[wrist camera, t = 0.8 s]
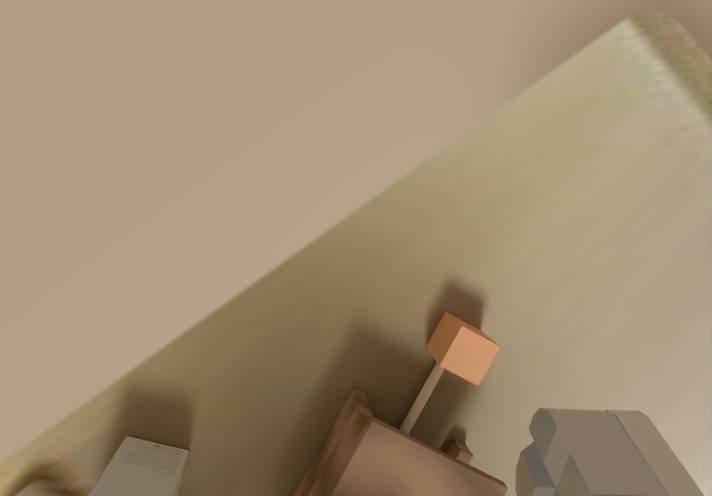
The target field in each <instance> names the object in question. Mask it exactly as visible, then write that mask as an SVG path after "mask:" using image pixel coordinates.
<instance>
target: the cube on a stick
mask: <svg viewBox="0 0 712 496" xmlns="http://www.w3.org/2000/svg"><path fill="white" fill-rule="evenodd" d="M426 349H427V350H428V351H429V353H430V354H431V355H432V357H433V358H434V359H435V361H436V362H437V363H436V365H435V366H434V368H433V370H432V372H431V373H430V375H429V377H428V379H427V381H426V382H425V384H424V386H423V388H422V390H421V391H420V393H419V395H418V397H417V398H416V400H415V402H414V404H413V406H412V407H411V409H410V411H409V413H408V415H407V416H406V418H405V420H404V422H403V423H402V425H401V427H400V429H399V430H400V431H402V432H404V433H406V434H409V433H410V431H411V429H412V427H413V425H414V424H415V422H416V420H417V418H418V416H419V415H420V413H421V411H422V409H423V408H424V406H425V404H426V402H427V400H428V399H429V397H430V395H431V393H432V392H433V390H434V388H435V386H436V384H437V383H438V381H439V379H440V377H441V376H442V374H443V372H444V370H445V369H447V370H448V371H450V372H452V373H454V374H456V375H458V376H460V377H462V378H464V379H466V380H468V381H470V382H471V383H473V384H475V385H477V386H479V384H480V382H481V381H482V379H483V377H484V375H485V374H486V372H487V370H488V368H489V366H490V365H491V363H492V361H493V359H494V358H495V356H496V354H497V352H498V351H499V349H500V346H499V345H498V344H497V343H496V342H494V341H493V340H492V339H491V338H490V337H488V336H487V335H486V334H485V333H483V332H482V331H481V330H479V329H477V328H476V327H474V326H472V325H470V324H468V323H466V322H464V321H463V320H461V319H459V318H457V317H455V316H453V315H451V314H449V313H448V312H445V313H444V315H443V317H442V319H441V321H440V322H439V324H438V326H437V328H436V330H435V331H434V333H433V335H432V337H431V338H430V340H429V342H428V344H427V346H426Z"/></svg>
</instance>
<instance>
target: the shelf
mask: <svg viewBox="0 0 712 496" xmlns="http://www.w3.org/2000/svg"><path fill="white" fill-rule="evenodd" d="M472 457H473V455H472V454H471V452H470V450H469V449H468V447H467V446H466V444H465V443H463V442H461V441H459V440H457V439H455V438H453V440H452V442H451V444H450V445H449V447H448V449H447V451H446V453H444V452H442V451H440V450H438V449H436V448H434V447H432V446H430V445H428V444H426V443H424V442H422V441H420V440H418V439H416V438H414V437H412V436H410V435H408V434H406V433H404V432H402V431H400V430H398V429H396V428H394V427H392V426H390V425H388V424H386V423H384V422H382V421H380V420H378V419H376V418H374V417H373V415H372V412H371V409H370V406H369V403H368V399H367V396H366V393H364V392H362V391H360V390H358V389H356V388H354V387H353V389H352V391H351V393H350V395H349V397H348V398H347V400H346V402H345V404H344V406H343V407H342V409H341V411H340V413H339V415H338V416H337V418H336V420H335V422H334V424H333V425H332V427H331V429H330V431H329V433H328V434H327V436H326V438H325V440H324V442H323V444H322V445H321V447H320V449H319V451H318V453H317V454H316V456H315V458H314V460H313V462H312V463H311V465H310V467H309V469H308V471H307V472H306V474H305V476H304V478H303V480H302V481H301V483H300V485H299V487H298V489H297V490H296V492H295V494H294V496H504V495H505V493H506V491H507V489H508V488H507V486H506V485H505V484H504V482H502V481H500V480H498V479H496V478H494V477H492V476H490V475H488V474H486V473H484V472H482V471H480V470H478V469H476V468H474V467H472V466H470V465H468V464H469V462H470V460H471V458H472Z"/></svg>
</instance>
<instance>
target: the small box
mask: <svg viewBox="0 0 712 496" xmlns="http://www.w3.org/2000/svg"><path fill="white" fill-rule="evenodd" d="M189 452H190V451H189V450H185V449H180V448H176V447H172V446H168V445H163V444H159V443H155V442H150V441H146V440H142V439H138V438H133V437H129V436H126V437H125V439H124V441H123V442H122V444H121V445H120V447H119V448H118V450H117V451H116V453H115V454H114V456H113V458H112V459H111V461H110V462H109V464H108V465H107V467H106V468H105V470H104V472H103V473H102V475H101V476H100V478H99V479H98V481H97V483H96V484H95V486H94V487H93V489H92V490H91V492H90V493H89V495H88V496H178V492H179V488H180V485H181V481H182V478H183V474H184V470H185V467H186V463H187V460H188V456H189Z"/></svg>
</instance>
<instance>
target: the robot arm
mask: <svg viewBox="0 0 712 496" xmlns="http://www.w3.org/2000/svg"><path fill="white" fill-rule="evenodd" d="M529 430H530V433H531V435H532V437H533V440H534V442H533V443H531V444H530V445H529V446H528V447H526V448H525V449H524V450H523V451H521V454H520V457H519V461H518V464H517V468H516V493H517V496H704V495H703V493H702V492H701V490H700V489H699V488H698V486H697V485H696V483H695V482H694V481H693V479H692V478H691V476H690V475H689V474H688V472H687V471H686V469H685V468H684V467H683V465H682V464H681V462H680V461H679V460H678V458H677V457H676V455H675V454H674V453H673V451H672V450H671V448H670V447H669V446H668V444H667V443H666V441H665V440H664V439H663V437H662V436H661V434H660V433H659V432H658V430H657V429H656V427H655V426H654V425H653V423H652V422H651V420H650V419H649V417H647V416H646V415H645V414H643V413H642V412H640V411H628V410H605V411H601V410H579V409H554V408H539V409H538V411H537V412H536V413H535V414H534V415H533V418H532V421H531V424H530V427H529Z"/></svg>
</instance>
